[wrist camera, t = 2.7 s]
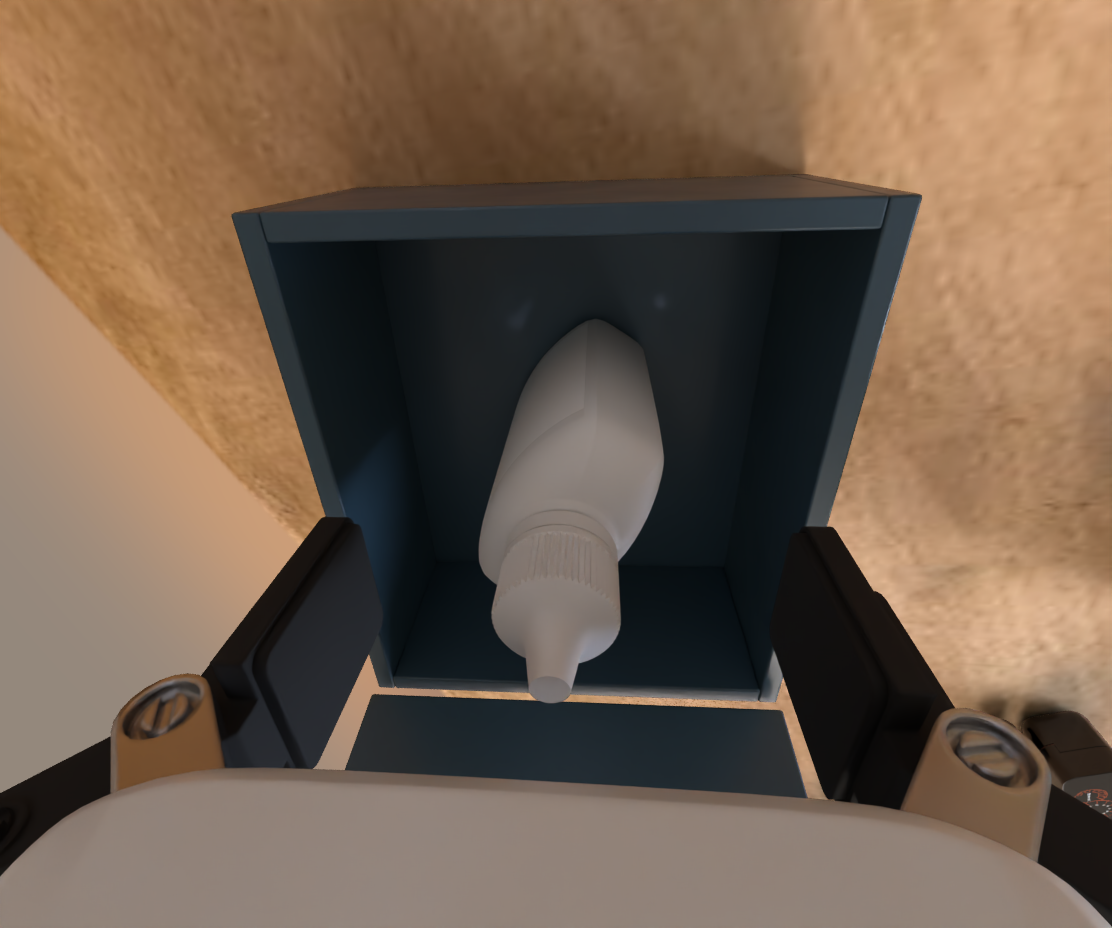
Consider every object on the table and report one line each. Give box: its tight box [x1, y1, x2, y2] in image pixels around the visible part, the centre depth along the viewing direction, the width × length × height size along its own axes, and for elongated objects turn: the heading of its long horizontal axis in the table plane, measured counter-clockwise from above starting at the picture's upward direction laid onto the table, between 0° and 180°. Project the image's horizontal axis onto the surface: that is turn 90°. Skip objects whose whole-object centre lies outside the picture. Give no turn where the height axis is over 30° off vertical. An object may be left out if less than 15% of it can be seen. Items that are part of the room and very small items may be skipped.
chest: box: [232, 174, 922, 702], centre depth 17 cm, size 15×14×7 cm
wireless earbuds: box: [1001, 711, 1112, 820], centre depth 27 cm, size 5×7×3 cm, turn 25°
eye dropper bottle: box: [479, 319, 664, 703], centre depth 14 cm, size 4×6×12 cm
